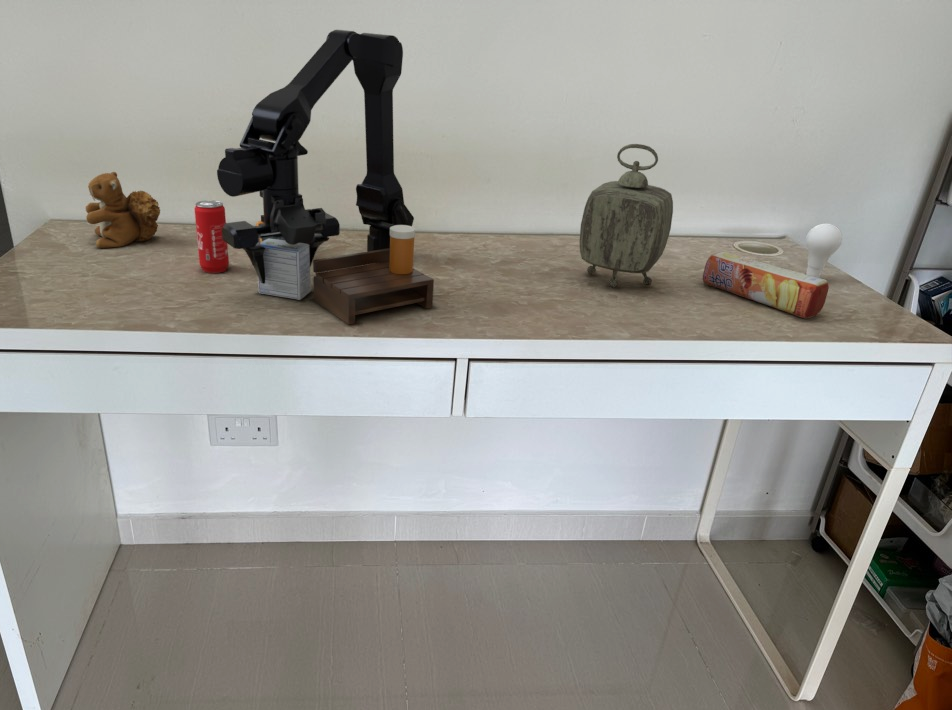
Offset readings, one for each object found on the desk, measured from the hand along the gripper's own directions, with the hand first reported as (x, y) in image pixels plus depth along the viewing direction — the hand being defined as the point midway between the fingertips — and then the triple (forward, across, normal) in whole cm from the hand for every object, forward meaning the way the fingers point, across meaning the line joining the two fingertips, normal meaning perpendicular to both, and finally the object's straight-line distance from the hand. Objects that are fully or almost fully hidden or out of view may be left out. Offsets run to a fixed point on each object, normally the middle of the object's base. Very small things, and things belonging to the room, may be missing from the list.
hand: (283, 279), depth 130 cm
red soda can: (+3, -6, +17) cm, 18 cm away
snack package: (+3, +74, -41) cm, 85 cm away
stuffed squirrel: (+3, -15, +41) cm, 44 cm away
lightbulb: (+3, +94, -39) cm, 102 cm away
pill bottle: (-2, +16, -11) cm, 20 cm away
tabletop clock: (+3, +56, -23) cm, 61 cm away
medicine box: (+3, 0, 0) cm, 3 cm away
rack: (+2, +11, -11) cm, 16 cm away
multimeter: (+3, +10, +23) cm, 25 cm away
